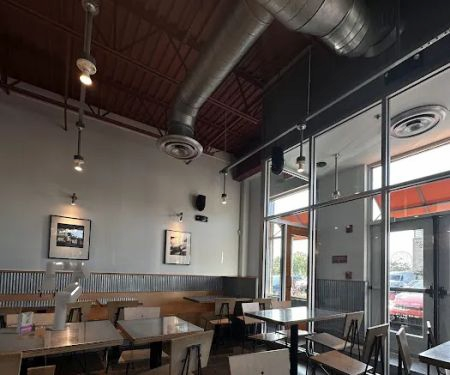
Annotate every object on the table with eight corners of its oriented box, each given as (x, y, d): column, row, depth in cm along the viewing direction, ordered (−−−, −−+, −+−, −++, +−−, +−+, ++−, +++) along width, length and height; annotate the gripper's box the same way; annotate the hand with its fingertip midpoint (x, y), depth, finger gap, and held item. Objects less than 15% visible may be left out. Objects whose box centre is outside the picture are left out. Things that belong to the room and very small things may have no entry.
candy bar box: (26, 332, 290) (29, 311, 293) (31, 332, 288) (34, 312, 292) (15, 334, 279) (18, 313, 283) (19, 335, 278) (22, 313, 281)
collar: (44, 333, 281) (45, 326, 282) (44, 334, 275) (45, 328, 276) (34, 333, 278) (35, 327, 279) (34, 335, 272) (35, 328, 273)
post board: (46, 334, 284) (47, 324, 285) (46, 339, 266) (47, 329, 268) (18, 336, 275) (19, 326, 277) (15, 341, 258) (17, 330, 259)
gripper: (60, 276, 302) (58, 297, 299) (38, 276, 295) (35, 297, 292) (61, 276, 296) (58, 297, 292) (38, 276, 288) (35, 298, 285)
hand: (47, 297), depth 292 cm, fingers open, 9 cm apart
